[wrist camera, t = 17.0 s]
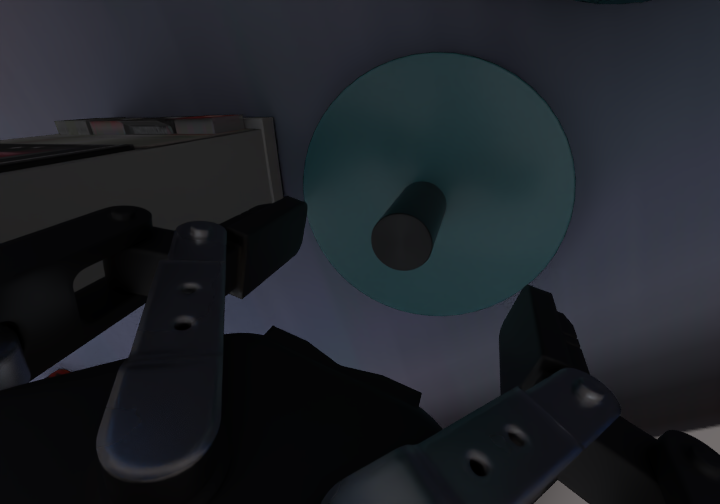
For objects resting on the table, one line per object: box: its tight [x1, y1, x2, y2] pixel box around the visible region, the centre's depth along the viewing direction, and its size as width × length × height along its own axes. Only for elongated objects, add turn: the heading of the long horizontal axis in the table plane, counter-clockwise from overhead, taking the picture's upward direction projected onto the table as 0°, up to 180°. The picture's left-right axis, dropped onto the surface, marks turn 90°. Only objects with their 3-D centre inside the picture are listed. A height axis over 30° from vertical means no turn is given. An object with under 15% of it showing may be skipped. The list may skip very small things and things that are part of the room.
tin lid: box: [303, 52, 576, 316], centre depth 17 cm, size 15×15×7 cm
